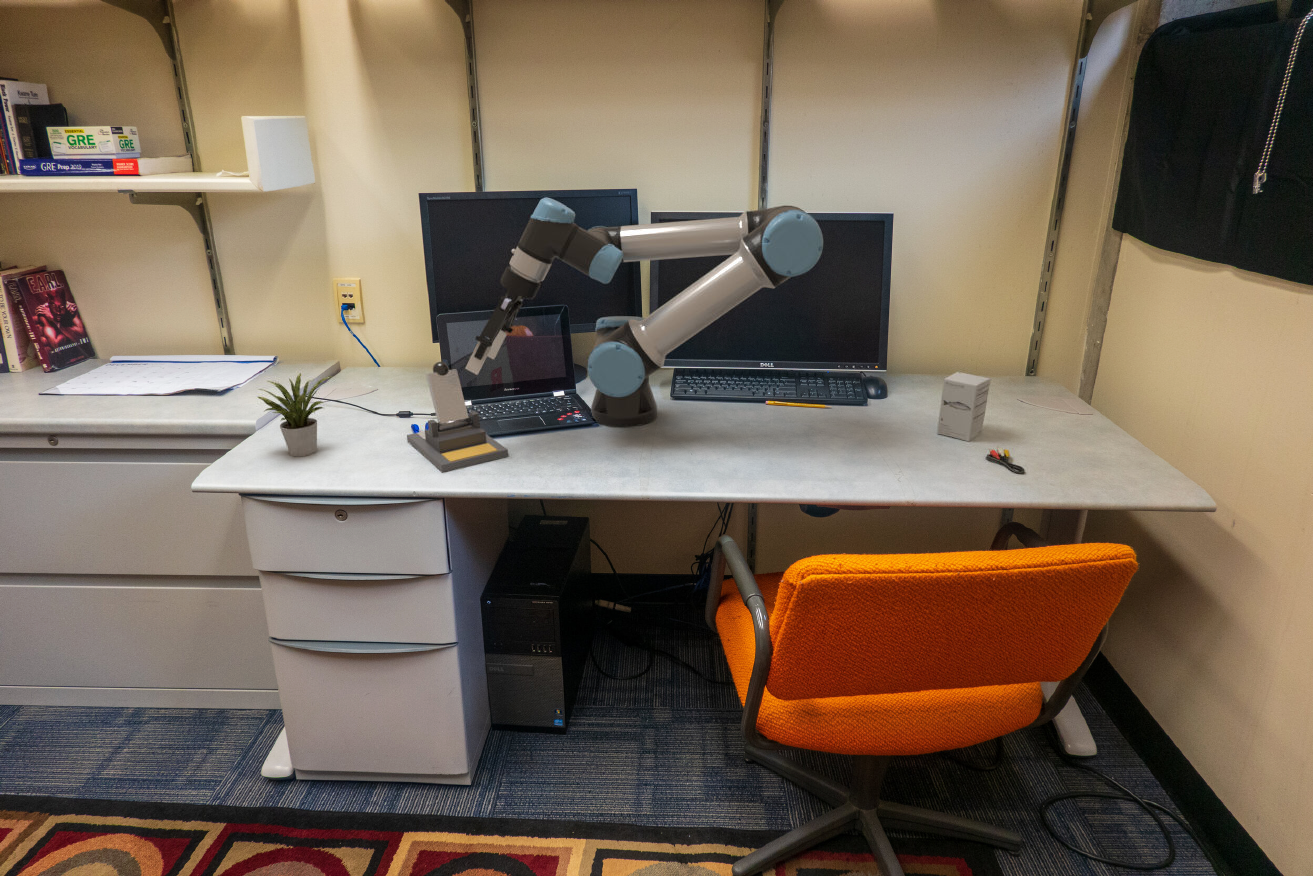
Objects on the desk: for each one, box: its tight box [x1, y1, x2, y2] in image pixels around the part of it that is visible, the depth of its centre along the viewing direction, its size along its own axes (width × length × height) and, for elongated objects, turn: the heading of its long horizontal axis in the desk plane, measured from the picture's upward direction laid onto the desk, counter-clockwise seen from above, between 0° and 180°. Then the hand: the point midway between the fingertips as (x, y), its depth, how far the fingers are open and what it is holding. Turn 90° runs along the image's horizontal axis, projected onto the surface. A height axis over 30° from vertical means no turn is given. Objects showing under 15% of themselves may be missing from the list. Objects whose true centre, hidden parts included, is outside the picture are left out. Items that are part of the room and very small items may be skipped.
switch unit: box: [406, 410, 509, 473], centre depth 169 cm, size 20×14×7 cm
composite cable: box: [985, 446, 1025, 475], centre depth 161 cm, size 10×5×2 cm, turn 3°
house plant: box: [256, 372, 333, 457], centre depth 167 cm, size 14×14×16 cm
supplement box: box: [936, 371, 992, 442], centre depth 175 cm, size 7×7×13 cm
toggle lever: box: [426, 361, 472, 432], centre depth 168 cm, size 3×7×14 cm, turn 124°
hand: (480, 363), depth 170 cm, fingers open, 13 cm apart
